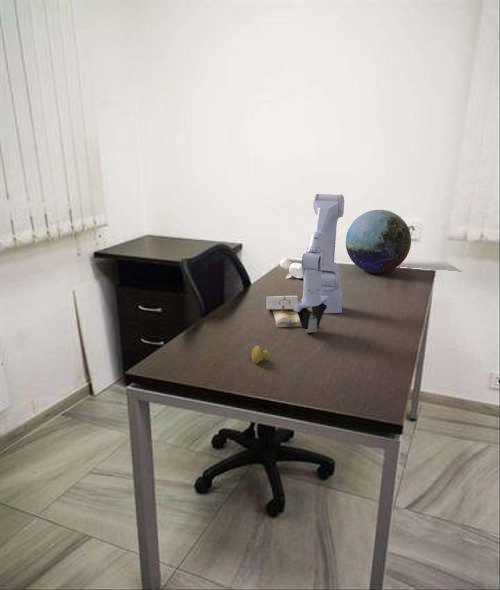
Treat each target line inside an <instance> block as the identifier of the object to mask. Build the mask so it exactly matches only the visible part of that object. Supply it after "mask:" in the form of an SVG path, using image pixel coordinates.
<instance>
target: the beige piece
mask: <svg viewBox="0 0 500 590" xmlns="http://www.w3.org/2000/svg"><path fill="white" fill-rule="evenodd" d="M272 315H273V318H274V322H275V324H276V328H289V327H290V328H292V327H302V325H301V321H300V318H299V316H298V314H297V312H296V311H294V309H272Z"/></svg>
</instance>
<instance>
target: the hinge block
mask: <svg viewBox="0 0 500 590" xmlns="http://www.w3.org/2000/svg"><path fill="white" fill-rule="evenodd" d="M317 329H318V325H317V318H316V316H315V315H313V314H311V315H310V318H309V325H308V329H307V330H306V329H304V331H305V333H306V334H308V333H317V332H318V330H317Z"/></svg>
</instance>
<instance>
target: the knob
mask: <svg viewBox="0 0 500 590" xmlns="http://www.w3.org/2000/svg"><path fill="white" fill-rule="evenodd" d="M268 359H269V351H268V350H267V349H265V350H263V349H262V347H260V346H259V345H255V346H254V347H253V348H252V350H251V360H252V362H253V363H254V364H258V363H260V362H261V361H262V360H263V361H264V362H266V361H267V360H268Z"/></svg>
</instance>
